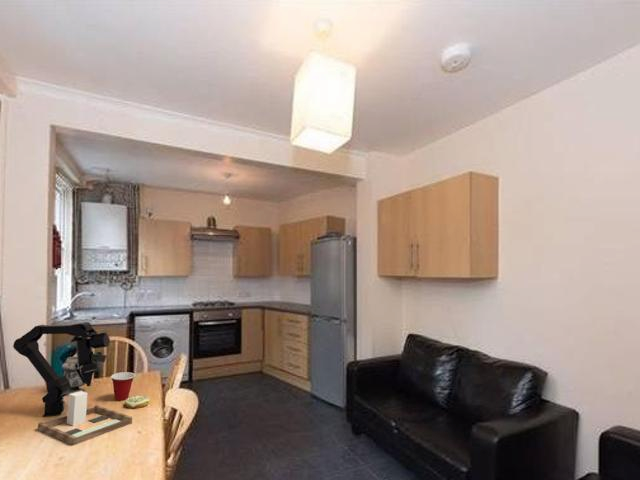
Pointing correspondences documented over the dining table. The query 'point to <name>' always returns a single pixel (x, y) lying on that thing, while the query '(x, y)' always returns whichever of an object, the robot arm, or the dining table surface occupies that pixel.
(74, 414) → the pale cream block
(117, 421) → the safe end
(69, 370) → the apothecary jar
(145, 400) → the decorated donut
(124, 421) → the brown flat frame
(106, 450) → the dining table surface
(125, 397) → the plastic cup
